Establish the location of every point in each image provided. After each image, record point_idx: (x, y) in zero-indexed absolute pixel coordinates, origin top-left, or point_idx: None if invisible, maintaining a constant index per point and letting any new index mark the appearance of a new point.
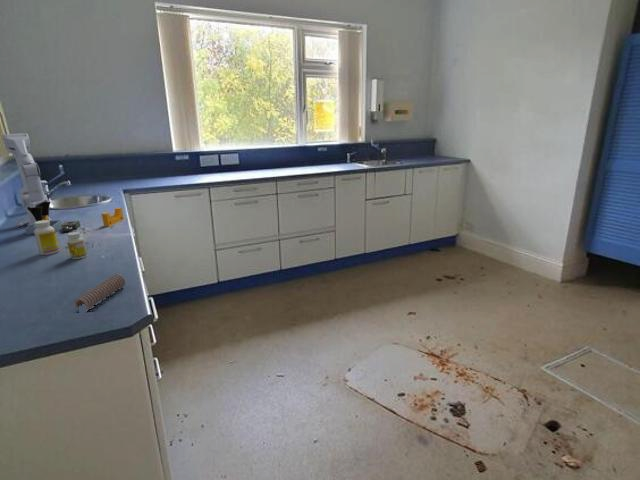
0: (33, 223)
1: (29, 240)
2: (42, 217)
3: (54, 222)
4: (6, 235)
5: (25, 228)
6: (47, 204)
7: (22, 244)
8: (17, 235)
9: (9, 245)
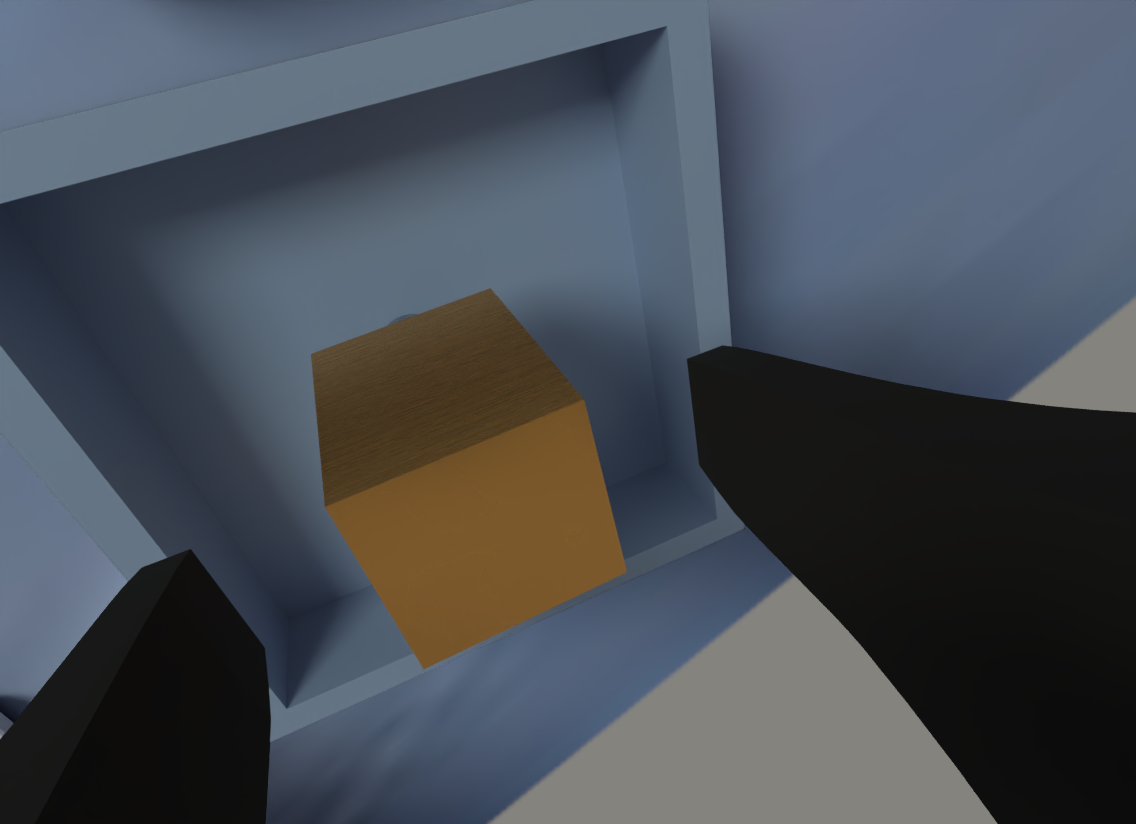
0: (401, 672)
1: (986, 188)
2: (597, 470)
3: (67, 376)
4: (662, 674)
5: (742, 523)
6: None
7: (1128, 156)
8: (687, 558)
9: (1083, 309)
